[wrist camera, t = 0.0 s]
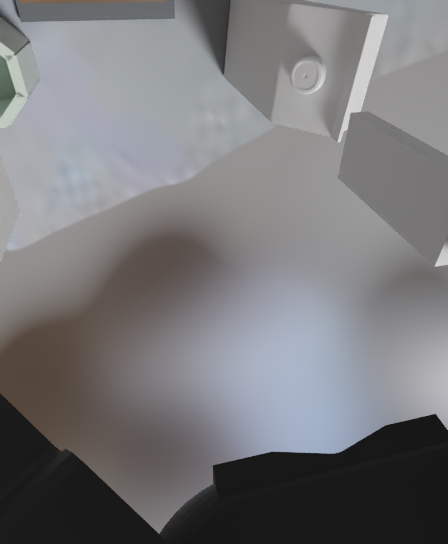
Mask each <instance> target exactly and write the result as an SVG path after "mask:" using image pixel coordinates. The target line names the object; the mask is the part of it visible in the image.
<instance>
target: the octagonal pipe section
mask: <svg viewBox="0 0 448 544" xmlns="http://www.w3.org/2000/svg"><path fill="white" fill-rule="evenodd" d="M28 41H29V39H27V38H26V37H25V36H24V35H22V34H21V33H20V32H19V31H18V30H16V29H15V28H14V27H13V26H11V25H10V24H9V23H8V22H7V21H5V20H4V19H3V18H2V17H0V128H8V126H10V125H11V123H12V122H13V120H14V119H15V117H16V116H17V114H18V113H19V111H20V110H21V108H22V107H23V105H24V104H25V102H26V101H27V99H28V98H29V96H30V95H31V93H32V91H33V90H34V88H35V87H36V85H37V83H38V82H39V80H40V76H39V72H38V68H37V65H36V61H35V57H34V53H33V50H32V46H31V42H28Z"/></svg>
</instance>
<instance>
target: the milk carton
mask: <svg viewBox="0 0 448 544" xmlns="http://www.w3.org/2000/svg"><path fill="white" fill-rule="evenodd" d="M388 16H389V15H387V14H381V13H375V12H369V11H363V10H357V9H351V8H345V7H340V6H334V5H328V4H322V3H316V2H310V1H304V0H231V1H230V12H229V23H228V34H227V45H226V56H225V68H224V77H225V79H226V80H227V81H228V82H229V83H230V84H232V85H233V86H234V87H235V88H236V89H237V90H238V91H239V92H240V93H241V94H242V95H243V96H244V97H245V98H246V99H247V100H248V101H249V102H250V103H251V104H252V105H253V106H254V107H256V108H257V109H258V110H259V111H260V112H261V113H262V114H263V115H264V116H265V117H266V118H267V119H268V120H269V121H271V123H275V124H279V125H283V126H288V127H292V128H296V129H300V130H304V131H308V132H312V133H316V134H320V135H325V136H329V137H332V138H333V139H334V140H336V141H337V142H341V138H342V134H343V132H344V131H346V130H347V129H348V124H349V119H350V114H351V113H354V112H360V111H361V108H362V105H363V101H364V98H365V94H366V91H367V88H368V84H369V81H370V77H371V74H372V71H373V67H374V64H375V61H376V57H377V54H378V50H379V47H380V44H381V40H382V37H383V33H384V30H385V27H386V23H387V20H388Z"/></svg>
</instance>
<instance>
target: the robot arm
mask: <svg viewBox="0 0 448 544" xmlns="http://www.w3.org/2000/svg"><path fill="white" fill-rule="evenodd" d="M338 178H339V179H340V180H341V181H342V182H343V183H344V184H345V185H346V186H348V187H349V188H350V189H351V190H352V191H353V192H354V193H355V194H356V195H358V197H359V198H361V199H362V200H363V201H364V202H365V203H366V204H367V205H368V206H369V207H370V208H371V209H372V210H374V211H375V212H376V213H377V214H378V215H379V216H380V217H381V218H382V219H383V220H385V221H386V222H387V223H388V224H389V225H390V226H391V227H392V228H393V229H394V230H395V231H396V232H398V233H399V234H400V235H401V236H402V237H403V238H404V239H405V240H406V241H407V242H408V243H410V244H411V245H412V246H413V247H414V248H415V249H416V250H417V251H418V252H419V253H420V254H421V255H423V256H424V257H425V258H426V259H427V260H428V261H429V262H430V263H431V264H432V265H434V266H441V265H448V156H447V155H446V154H444V153H442V152H440V151H438V150H436V149H435V148H433V147H431V146H429V145H428V144H426V143H424V142H422V141H420V140H419V139H417V138H415V137H413V136H411V135H410V134H408V133H406V132H404V131H402V130H401V129H399V128H397V127H395V126H393V125H391V124H390V123H388V122H386V121H384V120H383V119H381V118H379V117H377V116H375V115H374V114H372V113H370V112H354V113H351V114H350V119H349V124H348V129H347V134H346V139H345V145H344V150H343V155H342V160H341V165H340V170H339V175H338ZM19 211H20V209H19V206H18V203H17V200H16V198H15V195H14V192H13V189H12V187H11V184H10V181H9V178H8V175H7V173H6V170H5V167H4V164H3V162H2V159H1V156H0V263H1V260H2V257H3V254H4V252H5V249H6V246H7V244H8V241H9V238H10V236H11V233H12V230H13V227H14V225H15V222H16V219H17V217H18V214H19ZM213 482H214V484H213V485H211V486H209V487H207V488H206V489H204V490H202V491H201V492H199V493H198V494H197V495H195V496H194V497H193V498H191V499H190V500H189V501H188V502H186V503H185V505H183V506H182V507H181V508H180V509H179V510H178V511H177V512H176V513H175V514H174V516H173V517H172V518H171V519H170V520H169V522H168V523H167V524H166V525H165V526H164V528H163V529H162V531H161V532H160V534H158V533H157V532H156V531H155V530H154V529H153V528H152V527H151V526H150V525H149V524H148V523H147V522H146V521H145V520H143V518H142V517H140V516H139V515H138V514H137V513H136V512H135V511H134V510H133V509H132V508H131V507H130V506H129V505H128V504H127V503H126V502H125V501H124V500H123V499H122V498H120V497H119V496H118V495H117V494H116V493H115V492H114V491H113V490H112V489H111V488H110V487H109V486H108V485H107V484H106V483H105V482H104V481H103V480H102V479H100V478H99V477H98V476H97V475H96V474H95V473H94V472H93V471H92V470H91V469H90V468H89V467H88V466H87V465H86V464H84V462H82V461H81V460H80V459H79V458H78V457H77V456H76V455H74V454H73V453H72V452H70V451H68V450H67V449H65V450H63V451H60V450H59V449H57V448H56V447H55V446H54V445H53V444H51V442H50V441H48V439H47V438H46V437H44V436H43V435H42V434H41V433H40V432H39V431H38V430H37V429H36V428H35V427H34V426H33V425H32V424H31V423H30V422H29V421H28V420H27V419H26V418H25V417H24V416H23V415H22V414H21V413H20V412H19V411H18V410H17V409H16V408H15V407H14V406H12V404H11V403H9V402H8V401H7V400H6V399H5V398H4V397H3V396H2V395H1V394H0V544H448V430H447V429H446V428H445V426H444V425H443V424H442V422H441V421H440V419H439V418H438V417H437V415H436V414H433V415H429V416H425V417H420V418H416V419H412V420H408V421H403V422H399V423H394V424H390V425H386V426H384V427H382V428H381V429H379V430H377V431H376V432H374V433H372V434H371V435H369V436H367V437H366V438H364V439H362V440H361V441H359V442H357V443H356V444H354V445H352V446H351V447H349V448H347V449H346V450H344V451H342V452H340V453H336V454H321V453H292V452H270V453H265V454H261V455H256V456H252V457H248V458H243V459H239V460H235V461H230V462H226V463H222V464H217V465H213Z"/></svg>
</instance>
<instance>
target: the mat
mask: <svg viewBox="0 0 448 544" xmlns="http://www.w3.org/2000/svg"><path fill="white" fill-rule="evenodd" d="M15 1H16V5H17V8H18V12H19V16H20V19H21V22H37V21H82V20H128V19H173V18H175V12H174V0H167V1H155V2H83V3H19V0H15Z"/></svg>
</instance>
